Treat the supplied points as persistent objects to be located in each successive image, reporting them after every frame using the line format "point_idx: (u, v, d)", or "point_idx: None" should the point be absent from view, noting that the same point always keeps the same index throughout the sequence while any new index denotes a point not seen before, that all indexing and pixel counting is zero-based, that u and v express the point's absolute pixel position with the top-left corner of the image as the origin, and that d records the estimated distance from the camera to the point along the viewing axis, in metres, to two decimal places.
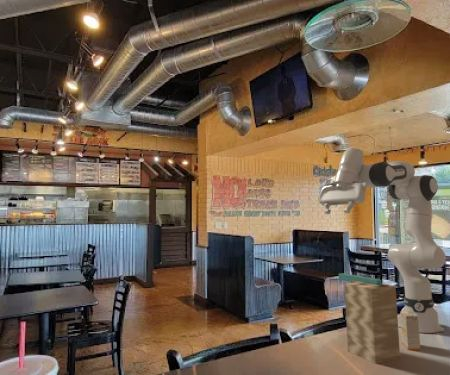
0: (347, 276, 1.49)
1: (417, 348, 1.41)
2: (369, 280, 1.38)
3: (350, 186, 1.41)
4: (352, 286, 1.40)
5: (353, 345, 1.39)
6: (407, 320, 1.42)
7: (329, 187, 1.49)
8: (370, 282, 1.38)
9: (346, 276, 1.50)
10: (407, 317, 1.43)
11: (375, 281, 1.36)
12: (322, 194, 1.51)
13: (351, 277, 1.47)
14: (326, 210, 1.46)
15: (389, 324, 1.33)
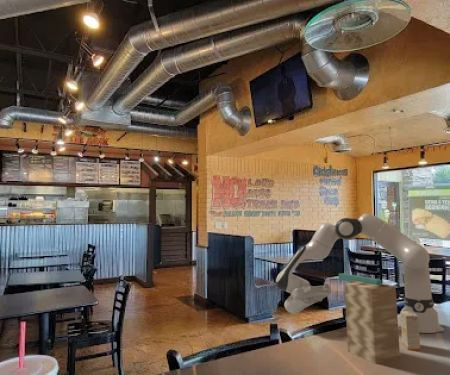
0: (347, 276, 1.49)
1: (417, 348, 1.41)
2: (369, 280, 1.38)
3: (301, 299, 1.72)
4: (352, 286, 1.40)
5: (353, 345, 1.39)
6: (407, 320, 1.42)
7: (318, 298, 1.76)
8: (370, 282, 1.38)
9: (346, 276, 1.50)
10: (407, 317, 1.43)
11: (375, 281, 1.36)
12: (326, 294, 1.76)
13: (351, 277, 1.47)
14: (327, 288, 1.69)
15: (389, 324, 1.33)
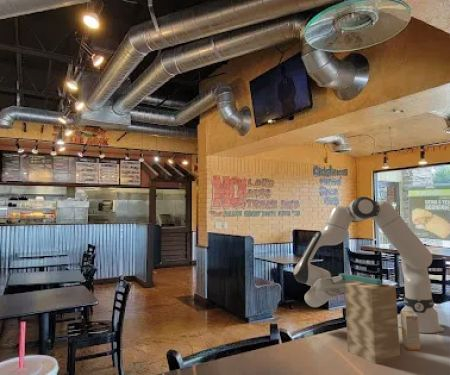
0: (347, 276, 1.49)
1: (417, 348, 1.41)
2: (369, 280, 1.38)
3: (325, 290, 1.57)
4: (352, 286, 1.40)
5: (353, 345, 1.39)
6: (407, 320, 1.42)
7: (343, 290, 1.61)
8: (370, 282, 1.38)
9: (346, 276, 1.50)
10: (407, 317, 1.42)
11: (375, 281, 1.36)
12: None
13: (351, 277, 1.47)
14: None
15: (389, 324, 1.33)
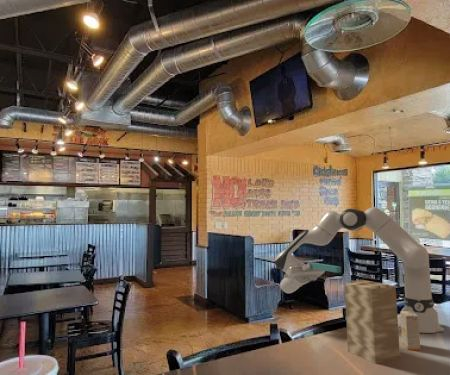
0: (314, 264, 1.70)
1: (417, 348, 1.41)
2: (331, 267, 1.59)
3: (295, 277, 1.77)
4: (352, 286, 1.40)
5: (353, 345, 1.39)
6: (407, 320, 1.42)
7: (312, 277, 1.81)
8: (331, 269, 1.58)
9: (313, 264, 1.70)
10: (407, 317, 1.43)
11: (335, 268, 1.56)
12: (320, 273, 1.80)
13: (317, 265, 1.68)
14: None
15: (389, 324, 1.33)
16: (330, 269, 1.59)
